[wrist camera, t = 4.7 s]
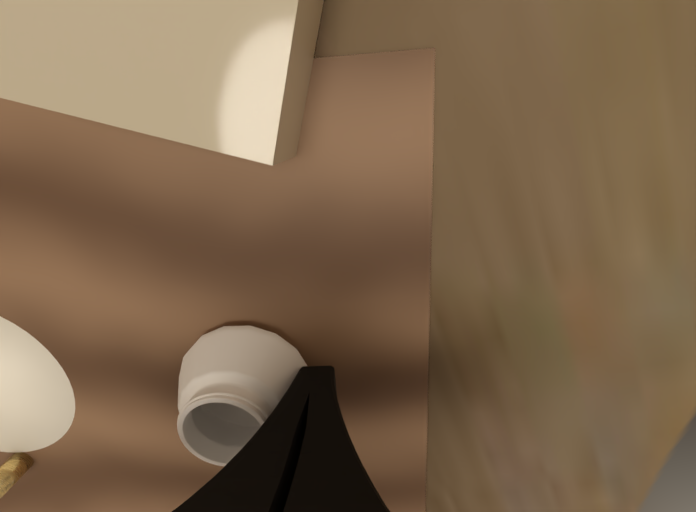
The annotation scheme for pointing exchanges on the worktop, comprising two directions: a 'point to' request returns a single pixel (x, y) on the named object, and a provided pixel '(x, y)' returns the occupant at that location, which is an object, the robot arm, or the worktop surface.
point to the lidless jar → (231, 388)
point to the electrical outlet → (168, 67)
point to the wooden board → (212, 285)
